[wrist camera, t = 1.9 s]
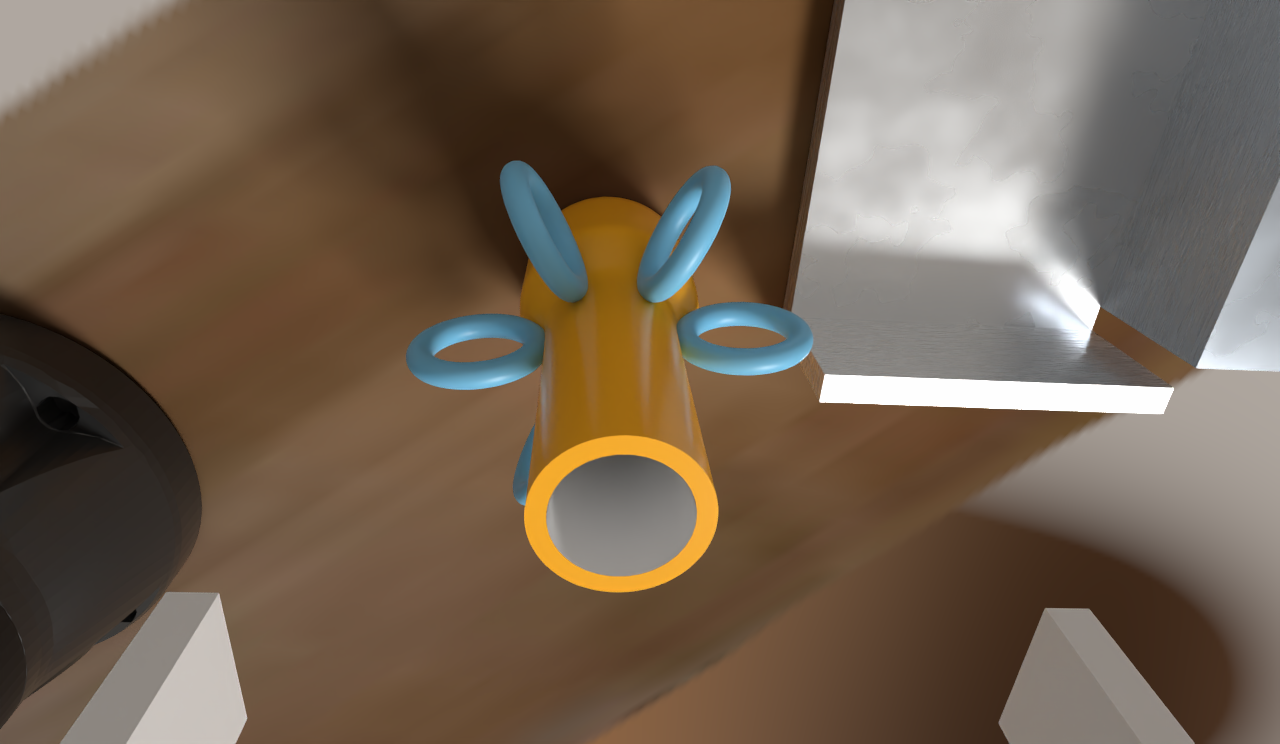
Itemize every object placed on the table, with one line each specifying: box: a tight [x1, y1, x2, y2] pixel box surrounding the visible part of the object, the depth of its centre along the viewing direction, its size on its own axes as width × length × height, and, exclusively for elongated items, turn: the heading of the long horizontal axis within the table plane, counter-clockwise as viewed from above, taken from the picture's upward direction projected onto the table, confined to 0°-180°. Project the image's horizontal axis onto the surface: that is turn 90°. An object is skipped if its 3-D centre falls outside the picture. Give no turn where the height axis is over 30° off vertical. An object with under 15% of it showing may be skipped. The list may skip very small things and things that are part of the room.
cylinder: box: [406, 161, 813, 592], centre depth 23 cm, size 12×10×15 cm
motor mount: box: [783, 0, 1280, 414], centre depth 25 cm, size 17×16×6 cm
